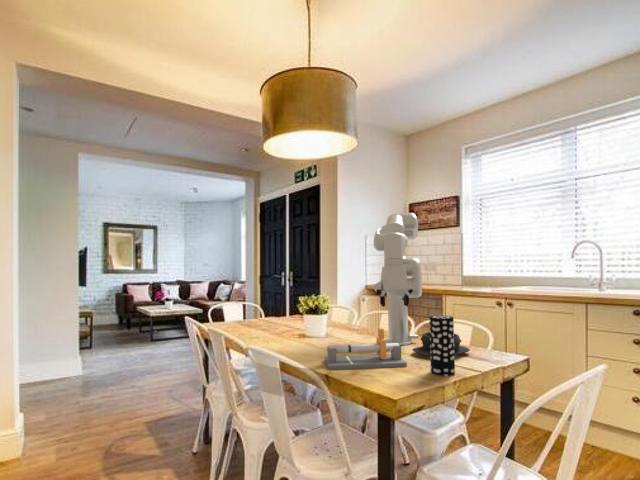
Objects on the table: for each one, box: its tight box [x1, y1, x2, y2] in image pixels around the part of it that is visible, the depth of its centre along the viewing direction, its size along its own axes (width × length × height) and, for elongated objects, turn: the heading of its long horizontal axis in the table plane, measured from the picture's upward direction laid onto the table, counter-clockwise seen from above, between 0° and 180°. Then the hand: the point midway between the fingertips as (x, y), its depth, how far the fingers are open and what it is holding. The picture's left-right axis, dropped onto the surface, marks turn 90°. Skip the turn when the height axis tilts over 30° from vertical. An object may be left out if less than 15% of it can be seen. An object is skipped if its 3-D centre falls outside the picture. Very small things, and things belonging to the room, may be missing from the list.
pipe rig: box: [324, 343, 408, 371], centre depth 156 cm, size 30×14×8 cm, turn 96°
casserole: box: [412, 331, 471, 356], centre depth 170 cm, size 25×19×8 cm
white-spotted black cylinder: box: [428, 314, 456, 377], centre depth 142 cm, size 8×8×20 cm
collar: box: [376, 327, 387, 359], centre depth 157 cm, size 2×7×11 cm, turn 6°
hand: (394, 305), depth 158 cm, fingers open, 9 cm apart
